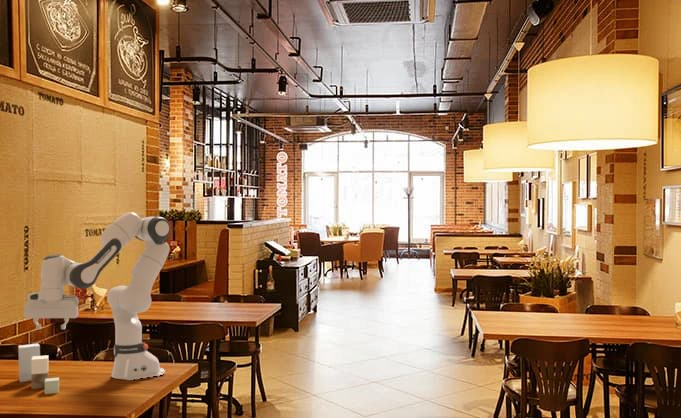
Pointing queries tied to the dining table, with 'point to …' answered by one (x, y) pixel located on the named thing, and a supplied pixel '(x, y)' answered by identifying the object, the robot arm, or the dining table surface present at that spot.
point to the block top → (39, 364)
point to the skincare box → (27, 360)
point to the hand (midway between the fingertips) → (50, 329)
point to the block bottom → (38, 380)
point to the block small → (51, 385)
